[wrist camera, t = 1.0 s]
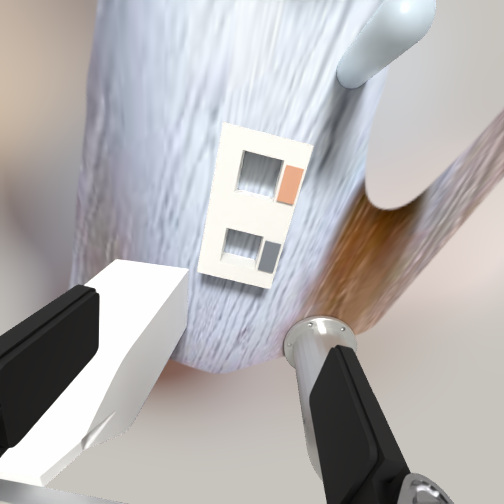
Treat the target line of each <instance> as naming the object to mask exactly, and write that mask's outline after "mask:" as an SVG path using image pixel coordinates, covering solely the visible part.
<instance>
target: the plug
mask: <svg viewBox="0 0 504 504" xmlns="http://www.w3.org/2000/svg"><path fill="white" fill-rule="evenodd" d="M435 11H436V1H435V0H384V2H383V3H382V4H381V6H380V7H379V8H378V10H377V11H376V12H375V14H374V15H373V16H372V18H371V19H370V20H369V22H368V23H367V24H366V26H365V27H364V28H363V30H362V31H361V32H360V34H359V35H358V36H357V38H356V39H355V40H354V42H353V43H352V44H351V46H350V47H349V48H348V50H347V51H346V52H345V54H344V55H343V56H342V58H341V59H340V61H339V63H338V67H337V77H338V80H339V82H340V84H341V85H342V86H344V87H345V88H348V89H354V88H358V87H360V86H361V85H362V84H364V83H365V82H366V81H368V80H369V79H370V78H371V77H373V76H374V75H375V74H377V73H378V72H379V71H381V70H382V69H383V68H384V67H386V66H387V65H388V64H390V63H391V62H392V61H393V60H395V59H396V58H397V57H399V56H400V55H401V54H403V53H404V52H405V51H406V50H408V49H409V48H410V47H412V46H413V45H414V44H416V43H417V42H418V41H419V40H420V39H422V38H423V37H424V36H425V34H426V33H427V32H428V30H429V28H430V27H431V25H432V22H433V20H434V16H435Z"/></svg>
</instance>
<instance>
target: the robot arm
mask: <svg viewBox="0 0 504 504" xmlns="http://www.w3.org/2000/svg"><path fill="white" fill-rule="evenodd" d="M99 315H100V295H99V293H97V292H96V289H95V288H92V287H88V286H84V285H76V286H75V287H73V288H72V289H70V290H69V291H67V292H66V293H65V294H63V295H61V296H60V297H58V298H57V299H55V300H54V301H52V302H51V303H49V304H48V305H46V306H45V307H43V308H42V309H40V310H39V311H37V312H36V313H34V314H33V315H31V316H30V317H28V318H27V319H25V320H24V321H22V322H21V323H19V324H18V325H16V326H15V327H13V328H12V329H10V330H9V331H7V332H6V333H4V334H3V335H1V336H0V458H1V457H2V455H3V454H4V453H5V452H6V451H7V450H8V449H9V448H13V447H15V446H16V445H17V444H18V443H19V442H20V441H21V440H22V439H23V438H24V437H25V436H26V434H27V433H28V432H29V431H30V430H31V429H32V428H33V426H34V425H35V424H36V423H37V422H38V421H39V419H40V418H41V417H42V416H43V415H44V414H45V413H46V411H47V410H48V409H49V408H50V407H51V406H52V404H53V403H54V402H55V401H56V400H57V399H58V398H59V396H60V395H61V394H62V393H63V392H64V391H65V390H66V388H67V387H68V386H69V385H70V384H71V383H72V381H73V380H74V379H75V378H76V377H77V376H78V375H79V373H80V372H81V371H82V370H83V369H84V368H85V366H86V365H87V364H88V363H89V362H90V361H91V360H92V358H93V357H94V356H95V355H96V353H97V351H98V348H99ZM356 351H357V341H356V338H355V335H354V333H353V332H352V330H351V328H350V327H349V326H348V325H347V324H346V323H344V322H343V321H341V320H339V319H336V318H334V317H329V316H313V317H309V318H306V319H304V320H301V321H299V322H298V323H296V324H295V325H294V326H293V327H292V328H291V329H290V330H289V331H288V333H287V335H286V337H285V340H284V352H285V356H286V359H287V361H288V362H289V363H290V365H291V366H293V367H294V368H295V369H296V375H297V382H298V390H299V396H300V403H301V410H302V417H303V424H304V431H305V438H306V445H307V450H308V455H309V458H310V461H311V463H312V465H313V468H314V470H315V471H316V473H317V474H318V476H319V477H320V479H321V480H322V481H323V484H324V489H325V494H326V500H327V504H454V503H453V501H452V500H451V499H450V498H449V497H448V495H447V494H446V493H445V492H444V491H443V490H442V489H441V488H440V487H439V486H438V485H437V484H436V483H434V482H433V481H431V480H430V479H429V478H427V477H425V476H423V475H420V474H416V473H411V472H410V470H409V468H408V466H407V464H406V462H405V459H404V458H403V455H402V453H401V451H400V449H399V447H398V444H397V442H396V440H395V438H394V436H393V434H392V431H391V429H390V427H389V425H388V423H387V421H386V418H385V416H384V414H383V412H382V410H381V408H380V405H379V403H378V401H377V399H376V397H375V395H374V393H373V392H372V389H371V387H370V385H369V383H368V380H367V378H366V376H365V374H364V372H363V369H362V367H361V365H360V363H359V361H358V359H357V356H356ZM0 504H126V503H122V502H117V501H111V500H106V499H102V498H96V497H91V496H86V495H81V494H76V493H71V492H66V491H60V490H56V489H50V488H45V487H40V486H35V485H30V484H25V483H20V482H15V481H9V480H4V479H0Z"/></svg>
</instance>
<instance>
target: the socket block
mask: <svg viewBox="0 0 504 504" xmlns="http://www.w3.org/2000/svg"><path fill="white" fill-rule="evenodd" d="M313 147H314V146H313V145H309V144H306V143H302V142H298V141H294V140H290V139H286V138H283V137H279V136H275V135H271V134H267V133H264V132H260V131H256V130H252V129H248V128H244V127H241V126H237V125H233V124H229V123H225V122H223V126H222V132H221V138H220V144H219V149H218V155H217V161H216V166H215V172H214V178H213V183H212V189H211V195H210V200H209V206H208V212H207V218H206V223H205V229H204V235H203V240H202V246H201V252H200V257H199V263H198V269H197V272H199V273H203V274H208V275H212V276H216V277H220V278H224V279H229V280H233V281H237V282H241V283H245V284H250V285H254V286H258V287H262V288H266V289H270V288H271V285H272V281H273V278H274V275H275V271H276V268H277V265H278V262H279V258H280V255H281V252H282V248H283V245H284V242H285V239H286V235H287V232H288V229H289V225H290V222H291V219H292V216H293V212H294V209H295V206H296V202H297V199H298V196H299V193H300V189H301V186H302V183H303V180H304V176H305V173H306V170H307V166H308V163H309V160H310V157H311V153H312V150H313ZM245 151H248V152H252V153H256V154H260V155H263V156H267V157H271V158H275V159H279V160H282V164H281V167H280V171H279V175H278V179H277V182H276V186H275V190H274V194H273V197H272V198H271V197H267V196H263V195H259V194H255V193H251V192H247V191H243V190H240V189H237V188H238V183H239V179H240V174H241V169H242V165H243V160H244V155H245ZM229 228H230V229H234V230H238V231H242V232H246V233H250V234H254V235H258V236H262V239H261V242H260V246H259V250H258V254H257V257H256V260H255V259H251V258H246V257H242V256H238V255H234V254H230V253H226V252H224V249H225V244H226V240H227V235H228V230H229Z"/></svg>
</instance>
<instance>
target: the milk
mask: <svg viewBox="0 0 504 504" xmlns="http://www.w3.org/2000/svg"><path fill="white" fill-rule="evenodd" d="M188 279H189V269H185V268H177V267H170V266H163V265H155V264H148V263H141V262H133V261H126V260H119V259H116V260H115V261H113V262H112V263H111V264H110V265H109V266H107V267H106V268H105V269H104V270H102V271H101V272H100V273H99V274H97V275H96V276H95V277H94V278H93V279H91V280H90V281H89V282H88V283H86V284H85V285H84V286H88V287H92V288H95V289H96V292H97V293H99V295H100V315H99V348H98V351H97V353H96V355H95V356H94V357H93V358H92V360H91V361H90V362H89V363H88V364H87V365H86V366H85V368H84V369H83V370H82V371H81V372H80V373H79V375H78V376H77V377H76V378H75V379H74V380H73V381H72V383H71V384H70V385H69V386H68V387H67V388H66V390H65V391H64V392H63V393H62V394H61V395H60V396H59V398H58V399H57V400H56V401H55V402H54V403H53V404H52V406H51V407H50V408H49V409H48V410H47V411H46V413H45V414H44V415H43V416H42V417H41V418H40V419H39V421H38V422H37V423H36V424H35V425H34V426H33V428H32V429H31V430H30V431H29V432H28V433H27V434H26V436H25V437H24V438H23V439H22V440H21V441H20V442H19V443H18V444H17V445H16V446H15V447H13V448H9V449H8V450H7V451H6V452H5V453H4V454H3V455H2V457H1V458H0V479H4V480H9V481H15V482H20V483H25V484H30V485H35V486H40V487H44V486H45V485H46V484H47V483H49V482H50V481H51V480H52V479H53V478H54V477H55V476H56V475H57V474H58V473H60V472H61V471H62V470H63V469H64V468H65V467H66V466H68V465H69V464H70V463H71V462H72V461H73V460H74V459H75V458H77V457H78V456H79V455H80V454H81V453H82V452H83V450H84V449H88V448H91V447H93V446H95V445H97V444H100V443H103V442H105V441H107V440H110V439H112V438H115V437H117V436H119V435H121V434H123V433H124V432H126V431H127V430H128V429H129V428H130V427H131V425H132V424H133V422H134V421H135V419H136V417H137V415H138V414H139V412H140V410H141V408H142V406H143V404H144V403H145V401H146V399H147V397H148V396H149V394H150V392H151V390H152V388H153V386H154V385H155V383H156V381H157V379H158V378H159V376H160V374H161V372H162V370H163V368H164V367H165V365H166V363H167V361H168V359H169V358H170V356H171V354H172V352H173V350H174V349H175V347H176V345H177V343H178V341H179V340H180V338H181V336H182V334H183V332H184V331H185V329H186V327H187V306H188Z"/></svg>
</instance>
